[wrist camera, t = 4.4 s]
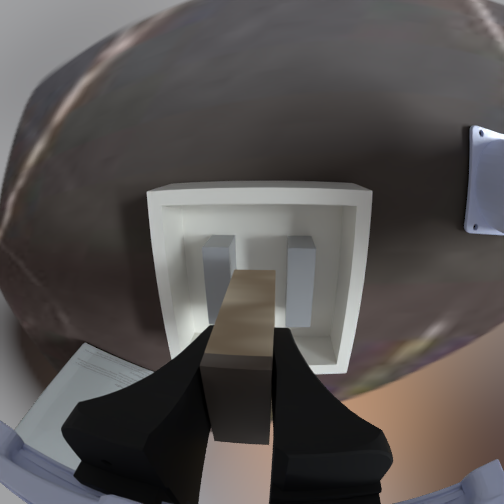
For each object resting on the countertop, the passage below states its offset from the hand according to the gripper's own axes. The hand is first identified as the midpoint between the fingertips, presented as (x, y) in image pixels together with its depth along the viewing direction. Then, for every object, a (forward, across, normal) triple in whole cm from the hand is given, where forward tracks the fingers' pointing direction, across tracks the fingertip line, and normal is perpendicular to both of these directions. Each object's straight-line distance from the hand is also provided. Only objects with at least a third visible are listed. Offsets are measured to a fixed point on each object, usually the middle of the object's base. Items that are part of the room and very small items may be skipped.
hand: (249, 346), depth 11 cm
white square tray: (+8, 0, 0) cm, 8 cm away
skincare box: (+9, +14, +12) cm, 20 cm away
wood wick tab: (+3, 0, 0) cm, 3 cm away
